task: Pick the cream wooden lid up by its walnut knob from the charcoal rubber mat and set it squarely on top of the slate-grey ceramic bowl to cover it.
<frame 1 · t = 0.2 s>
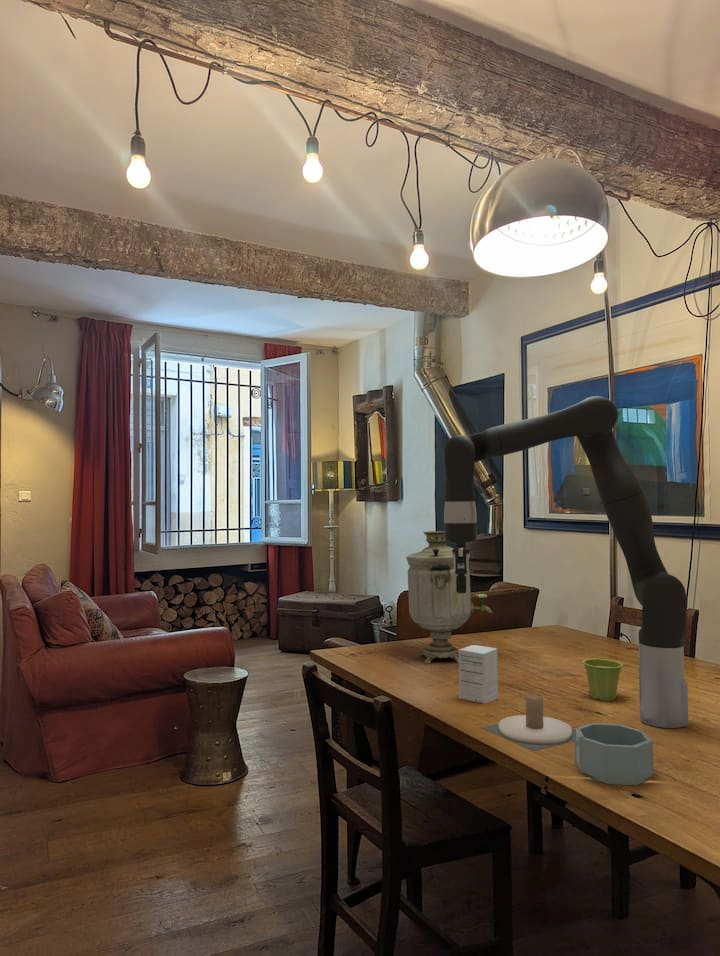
hand: (461, 590, 158), 29 cm above the table, fingers open, 8 cm apart
lid: (534, 731, 143), resting on mat
bowl: (613, 770, 124), on the table
mat: (534, 734, 143), on the table
supplement box: (478, 700, 168), on the table
plant pot: (603, 698, 170), on the table
samovar: (448, 660, 211), on the table
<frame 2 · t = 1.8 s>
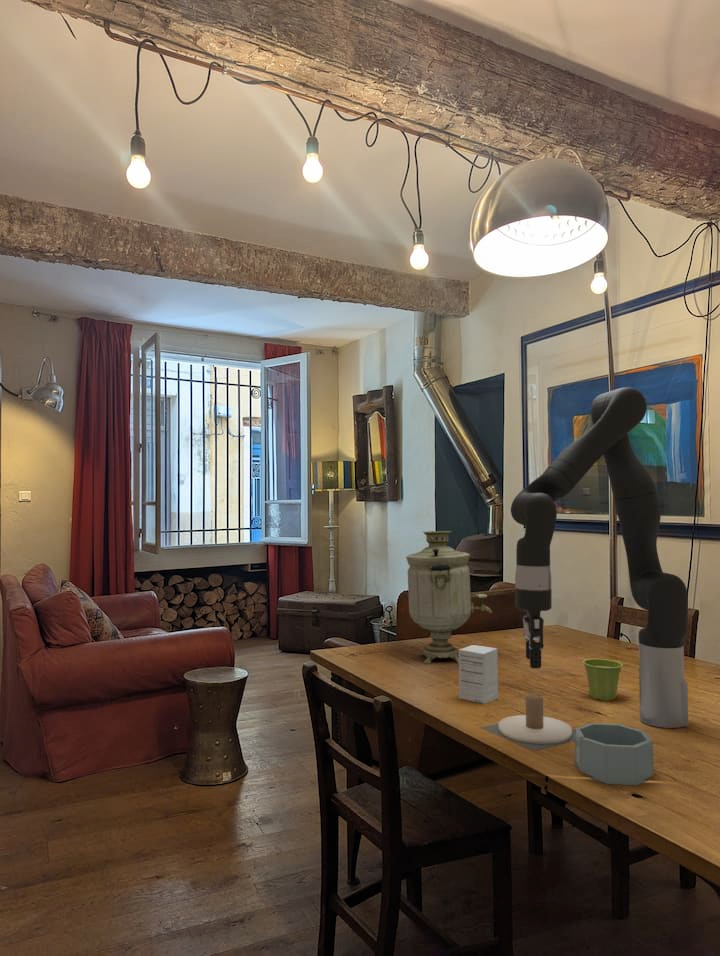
hand: (533, 663, 144), 15 cm above the table, fingers open, 8 cm apart
nothing on the table moved.
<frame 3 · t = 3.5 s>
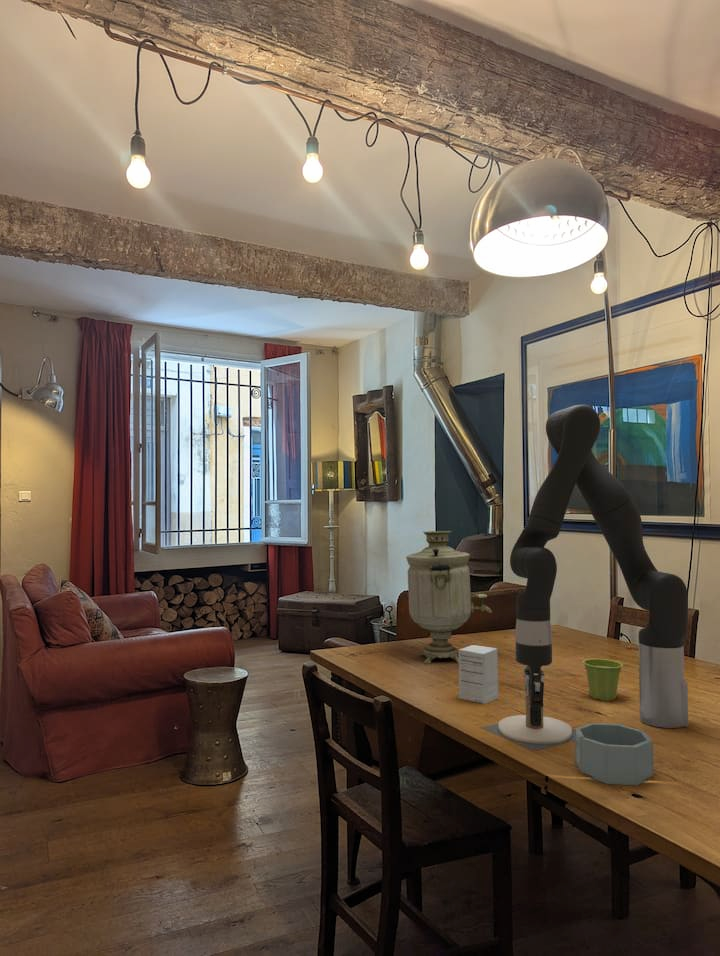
hand: (534, 721, 143), 3 cm above the table, fingers closed on lid, 3 cm apart
lid: (534, 731, 143), resting on mat, touching gripper
everything else where it was.
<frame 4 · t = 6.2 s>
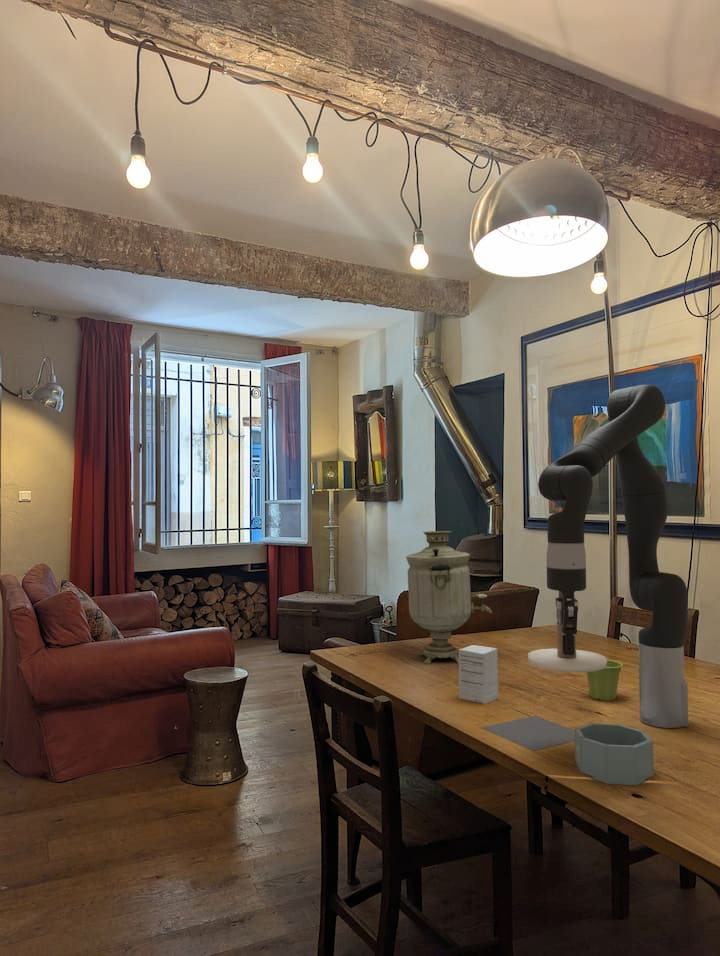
hand: (567, 652, 135), 19 cm above the table, fingers closed on lid, 3 cm apart
lid: (566, 662, 134), point 17 cm above the table, touching gripper
everything else where it was.
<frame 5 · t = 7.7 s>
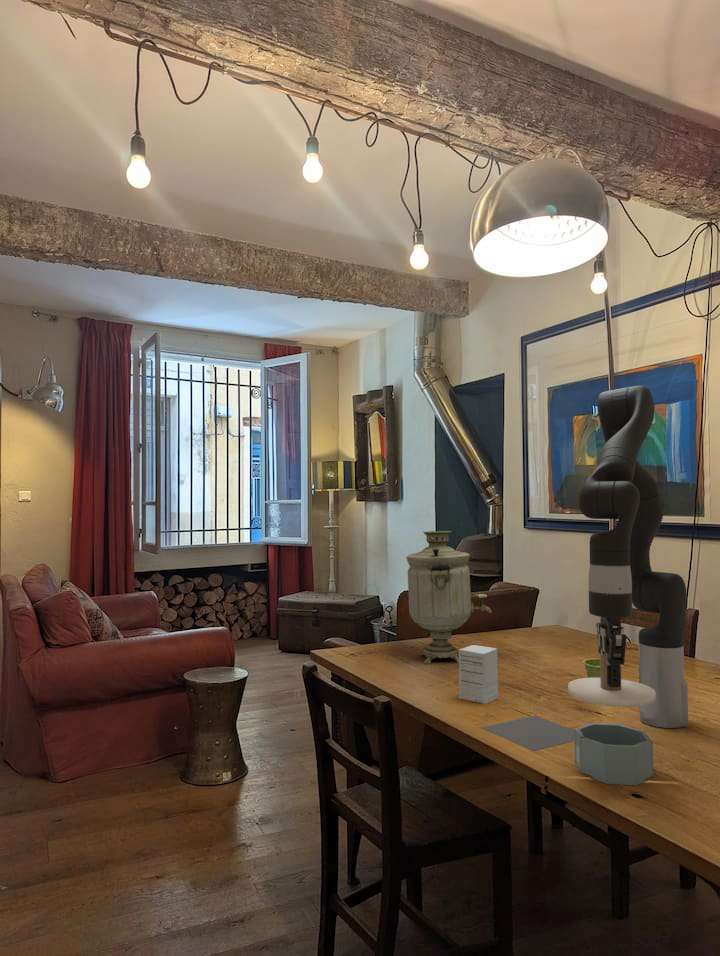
hand: (611, 683, 124), 16 cm above the table, fingers closed on lid, 3 cm apart
lid: (611, 694, 124), point 14 cm above the table, touching gripper
everything else where it was.
when the fingers open (10 cm above the table, at t = 9.1 s): lid stays where it is, resting on bowl.
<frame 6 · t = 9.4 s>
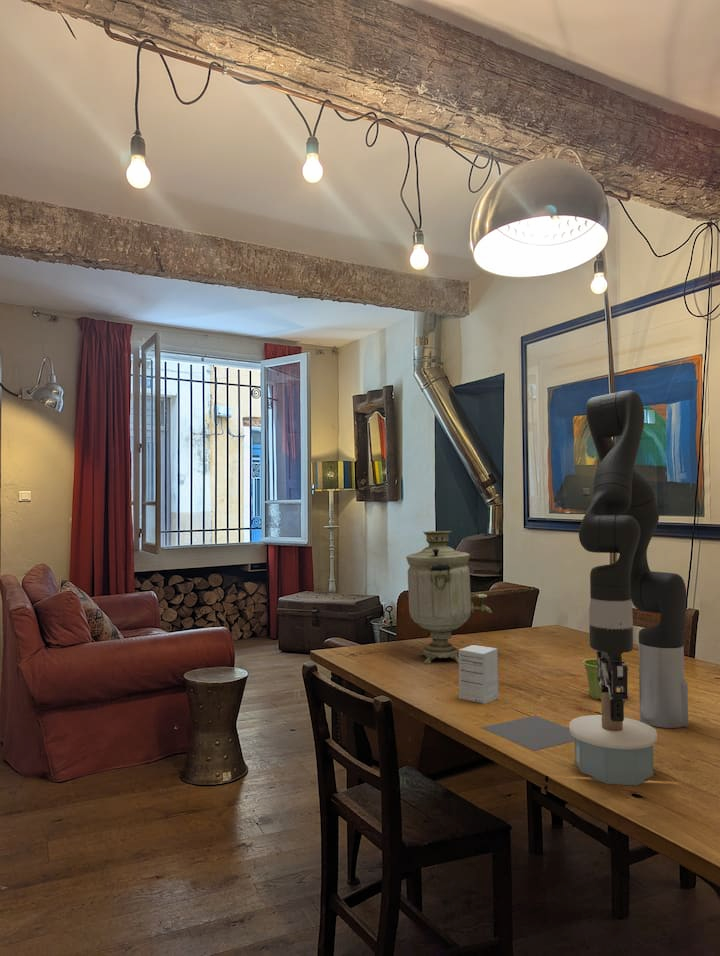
hand: (612, 714, 124), 10 cm above the table, fingers open, 6 cm apart
lid: (612, 734, 124), point 6 cm above the table, touching bowl
everything else where it was.
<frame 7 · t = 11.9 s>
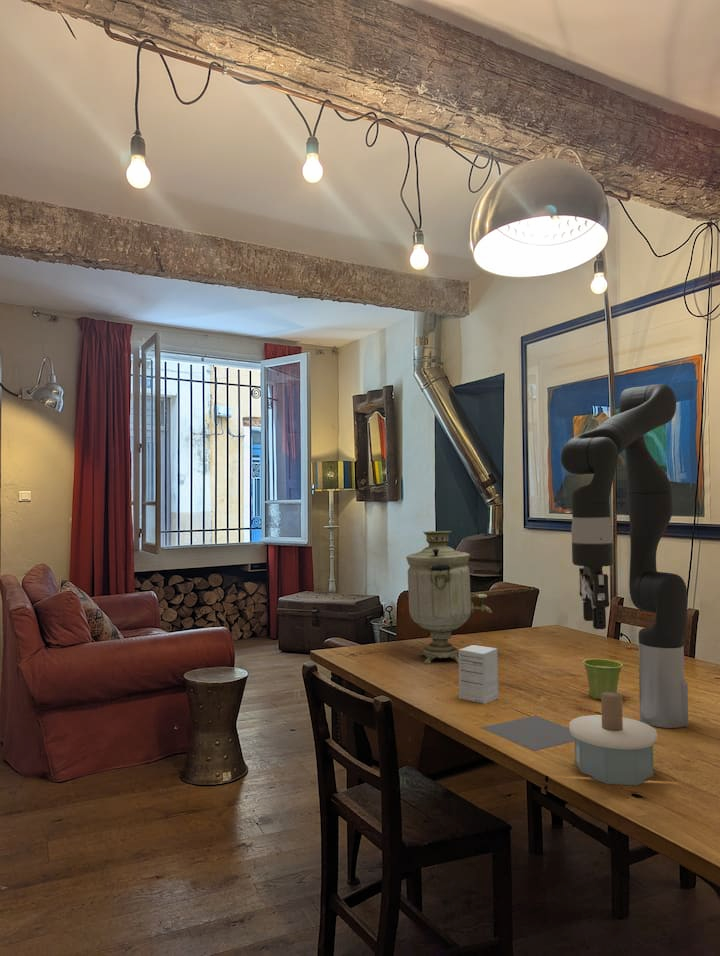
hand: (594, 624, 131), 25 cm above the table, fingers open, 8 cm apart
nothing on the table moved.
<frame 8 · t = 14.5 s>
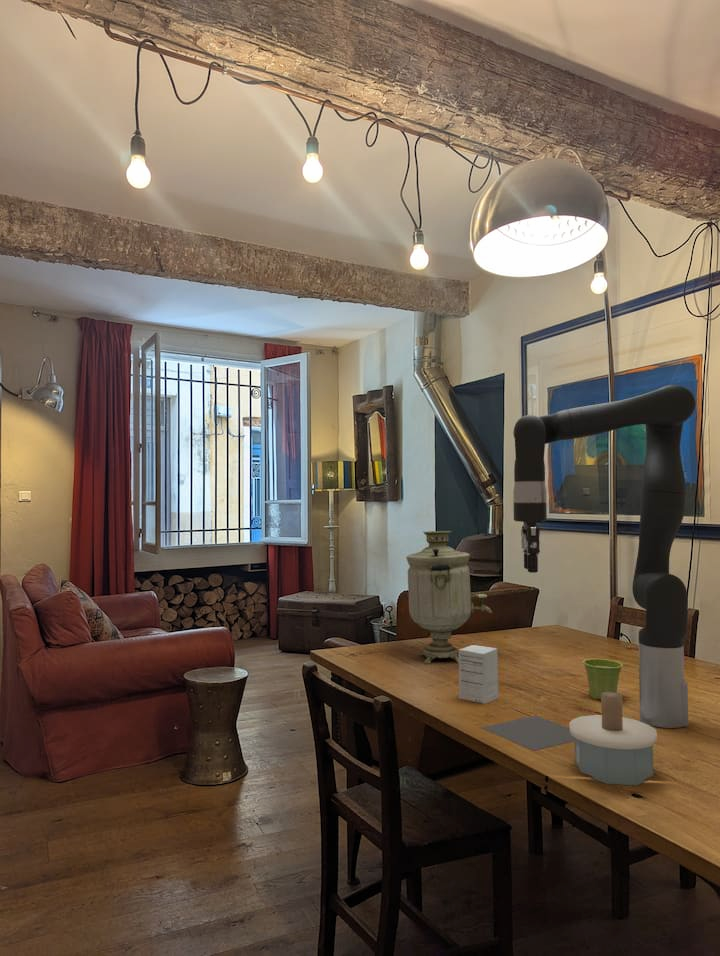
hand: (530, 570, 158), 33 cm above the table, fingers open, 8 cm apart
nothing on the table moved.
at the end: lid 0.1 cm off-centre on the bowl, point 6.5 cm above the bowl's base; lid tilted 0°; the gripper is holding nothing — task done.
